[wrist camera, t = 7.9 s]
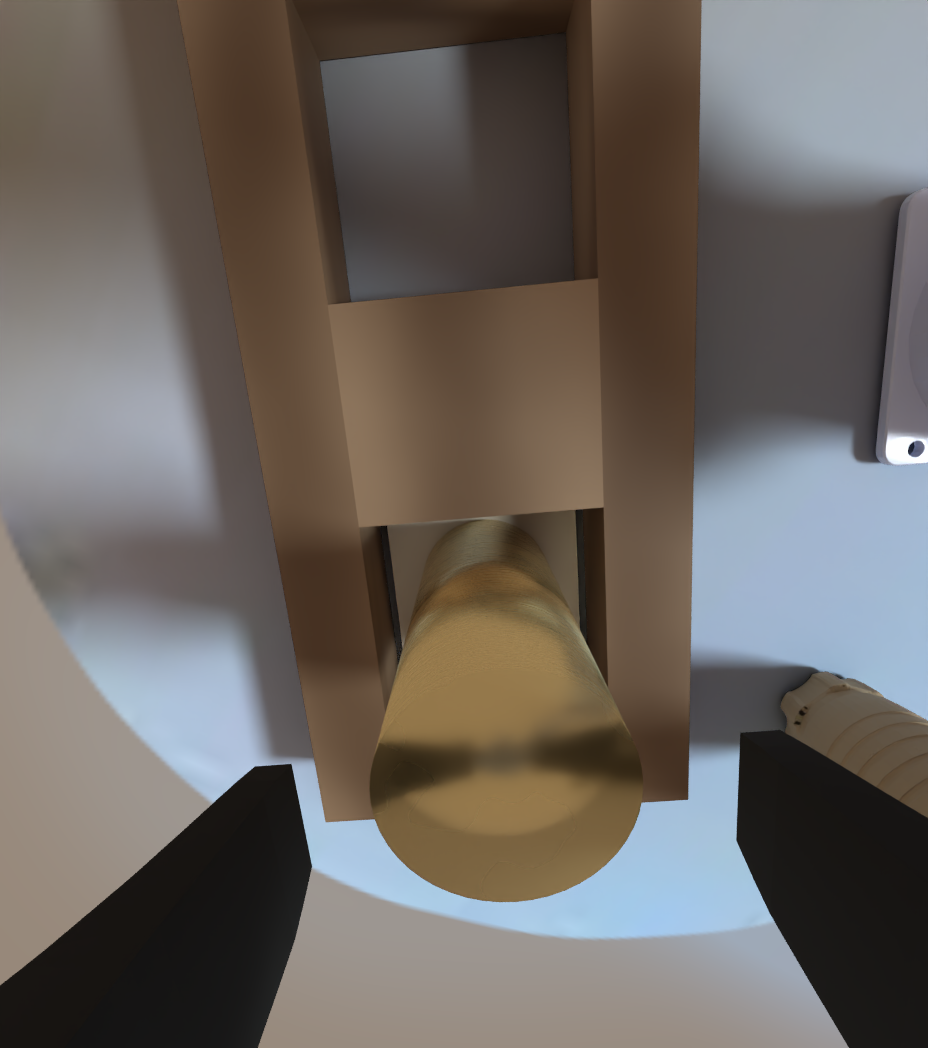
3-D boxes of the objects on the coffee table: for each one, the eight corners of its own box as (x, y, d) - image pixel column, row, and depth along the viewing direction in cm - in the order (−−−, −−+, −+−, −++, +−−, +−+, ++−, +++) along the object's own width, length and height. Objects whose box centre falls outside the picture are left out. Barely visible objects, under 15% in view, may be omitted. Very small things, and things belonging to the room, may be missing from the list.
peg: (545, 513, 17) (640, 657, 8) (552, 633, 18) (645, 892, 9) (416, 525, 18) (350, 681, 8) (430, 643, 19) (388, 910, 9)
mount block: (655, -114, 14) (705, -253, 11) (656, 740, 20) (688, 799, 17) (212, -59, 14) (144, -178, 11) (346, 760, 20) (325, 822, 17)
